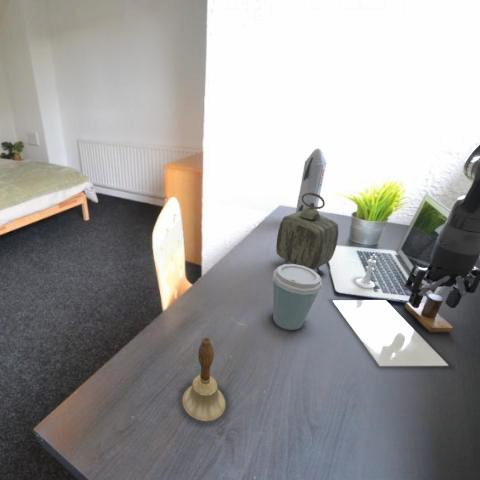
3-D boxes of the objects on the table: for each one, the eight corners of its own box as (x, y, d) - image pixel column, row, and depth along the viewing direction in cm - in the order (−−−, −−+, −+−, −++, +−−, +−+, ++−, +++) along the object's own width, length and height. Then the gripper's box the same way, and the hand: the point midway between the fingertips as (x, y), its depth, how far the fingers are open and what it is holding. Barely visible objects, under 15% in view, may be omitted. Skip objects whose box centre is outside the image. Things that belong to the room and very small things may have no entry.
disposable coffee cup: (273, 304, 88) (281, 255, 82) (316, 319, 83) (329, 268, 76) (259, 327, 81) (266, 275, 74) (305, 345, 75) (318, 291, 68)
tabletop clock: (328, 276, 100) (348, 197, 88) (310, 286, 95) (328, 204, 84) (287, 257, 111) (300, 184, 99) (269, 265, 106) (281, 190, 95)
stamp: (402, 310, 85) (411, 285, 82) (421, 310, 85) (431, 285, 82) (428, 336, 77) (440, 310, 74) (449, 336, 77) (462, 310, 73)
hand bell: (226, 427, 58) (233, 361, 51) (179, 420, 60) (179, 354, 52) (226, 387, 66) (232, 324, 58) (184, 382, 67) (185, 320, 60)
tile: (384, 302, 88) (385, 299, 88) (447, 368, 69) (449, 365, 68) (331, 302, 89) (332, 300, 88) (378, 368, 69) (379, 365, 69)
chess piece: (378, 290, 93) (388, 259, 89) (360, 290, 93) (370, 259, 89) (368, 280, 98) (378, 250, 93) (351, 280, 98) (360, 250, 93)
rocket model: (300, 232, 127) (315, 153, 113) (284, 226, 132) (297, 149, 118) (321, 223, 134) (338, 147, 120) (305, 218, 139) (319, 144, 126)
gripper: (438, 253, 68) (411, 316, 75) (508, 253, 68) (475, 316, 75) (413, 237, 75) (391, 296, 82) (477, 237, 74) (449, 296, 82)
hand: (431, 305), depth 78 cm, fingers open, 8 cm apart
